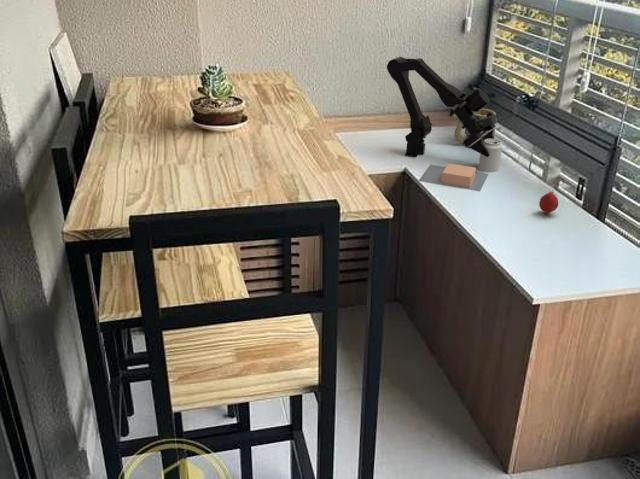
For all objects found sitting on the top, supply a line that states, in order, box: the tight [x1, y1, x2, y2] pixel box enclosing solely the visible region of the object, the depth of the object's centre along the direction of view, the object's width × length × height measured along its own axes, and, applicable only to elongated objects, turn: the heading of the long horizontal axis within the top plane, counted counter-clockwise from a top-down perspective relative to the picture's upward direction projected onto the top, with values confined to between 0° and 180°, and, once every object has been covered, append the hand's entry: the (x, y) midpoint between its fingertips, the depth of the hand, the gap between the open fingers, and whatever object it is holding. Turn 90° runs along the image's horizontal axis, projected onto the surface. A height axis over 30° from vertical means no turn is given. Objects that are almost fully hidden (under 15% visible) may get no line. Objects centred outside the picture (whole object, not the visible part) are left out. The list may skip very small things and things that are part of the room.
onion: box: [538, 190, 559, 215], centre depth 209 cm, size 6×6×8 cm
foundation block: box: [441, 163, 477, 188], centre depth 231 cm, size 10×10×4 cm
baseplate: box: [418, 164, 489, 192], centre depth 234 cm, size 22×18×1 cm
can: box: [478, 138, 503, 173], centre depth 241 cm, size 8×8×12 cm
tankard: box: [451, 107, 498, 148], centre depth 266 cm, size 20×13×15 cm, turn 104°
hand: (492, 152), depth 240 cm, fingers open, 9 cm apart
